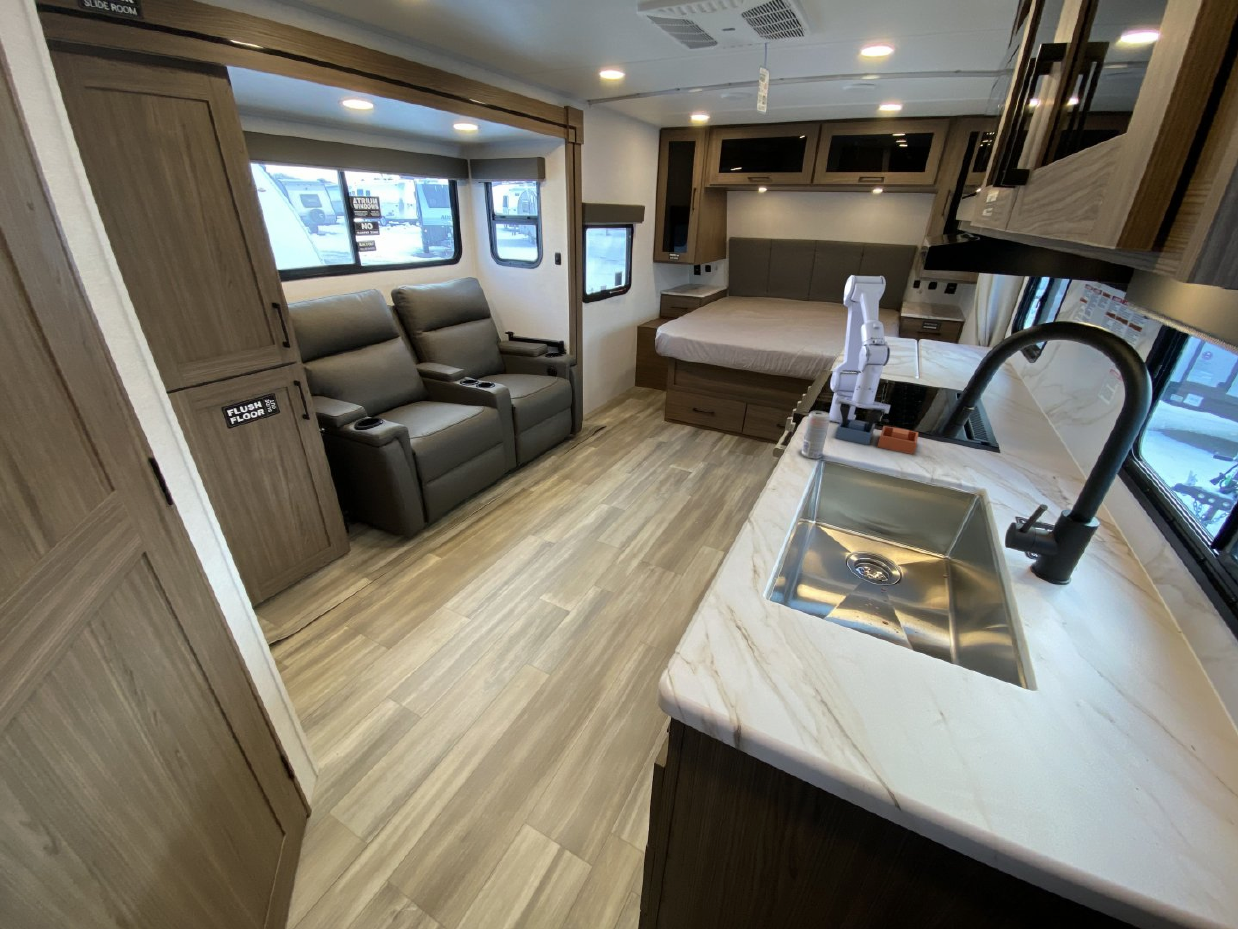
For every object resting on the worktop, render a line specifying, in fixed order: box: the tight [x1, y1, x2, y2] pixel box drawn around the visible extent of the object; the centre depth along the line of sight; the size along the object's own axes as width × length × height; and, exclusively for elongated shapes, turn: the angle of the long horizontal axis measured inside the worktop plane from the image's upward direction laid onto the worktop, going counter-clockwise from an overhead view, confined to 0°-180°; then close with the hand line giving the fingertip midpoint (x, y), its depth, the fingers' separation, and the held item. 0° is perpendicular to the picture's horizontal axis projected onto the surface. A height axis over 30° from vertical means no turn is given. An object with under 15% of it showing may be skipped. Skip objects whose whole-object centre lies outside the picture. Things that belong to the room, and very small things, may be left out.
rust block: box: [891, 427, 910, 440], centre depth 142 cm, size 4×4×4 cm
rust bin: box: [877, 425, 919, 455], centre depth 142 cm, size 9×9×4 cm
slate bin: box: [834, 419, 876, 446], centre depth 147 cm, size 9×9×4 cm
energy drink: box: [800, 410, 831, 460], centre depth 133 cm, size 5×5×12 cm
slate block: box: [848, 419, 866, 431], centre depth 147 cm, size 4×4×4 cm
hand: (855, 430), depth 147 cm, fingers open, 6 cm apart
